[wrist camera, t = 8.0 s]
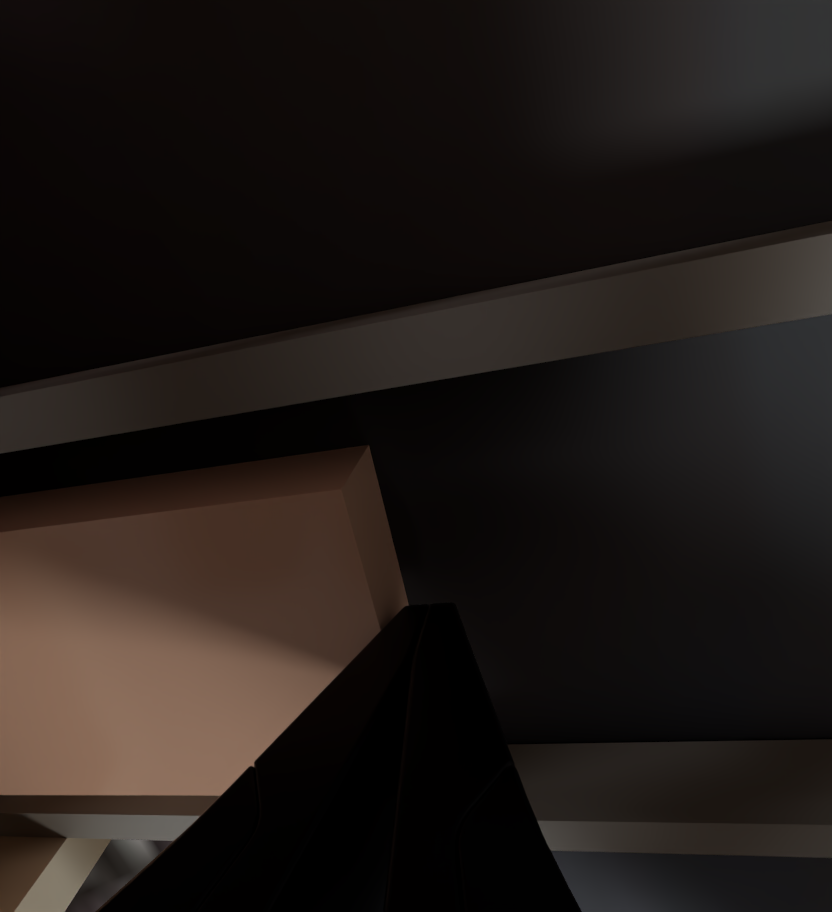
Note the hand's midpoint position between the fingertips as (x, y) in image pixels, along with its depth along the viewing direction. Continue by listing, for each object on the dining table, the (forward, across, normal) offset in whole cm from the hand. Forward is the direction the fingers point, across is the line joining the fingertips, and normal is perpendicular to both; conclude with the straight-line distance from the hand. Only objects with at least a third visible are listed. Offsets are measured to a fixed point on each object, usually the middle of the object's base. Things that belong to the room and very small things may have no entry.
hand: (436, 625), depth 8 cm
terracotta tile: (+2, +7, 0) cm, 7 cm away
